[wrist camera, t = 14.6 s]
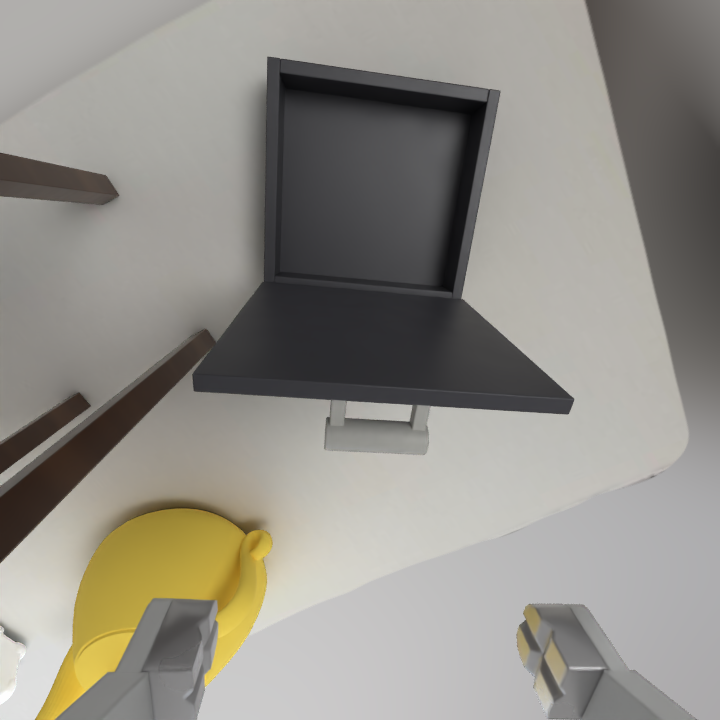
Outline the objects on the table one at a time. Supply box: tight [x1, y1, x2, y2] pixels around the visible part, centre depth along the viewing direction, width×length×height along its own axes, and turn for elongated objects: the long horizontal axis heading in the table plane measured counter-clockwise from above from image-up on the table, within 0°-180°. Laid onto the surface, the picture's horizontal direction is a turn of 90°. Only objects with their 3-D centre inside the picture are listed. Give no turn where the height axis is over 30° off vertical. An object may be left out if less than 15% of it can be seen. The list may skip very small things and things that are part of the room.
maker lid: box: [192, 282, 574, 455], centre depth 23 cm, size 15×16×5 cm
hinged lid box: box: [264, 57, 500, 299], centre depth 29 cm, size 15×16×4 cm
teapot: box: [35, 508, 273, 720], centre depth 36 cm, size 25×18×14 cm
